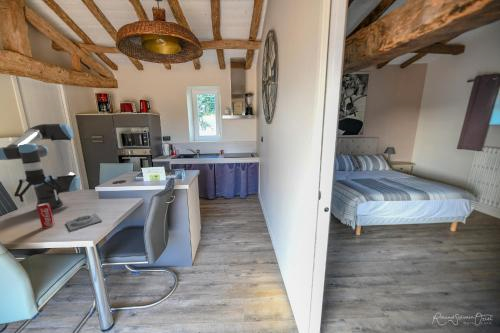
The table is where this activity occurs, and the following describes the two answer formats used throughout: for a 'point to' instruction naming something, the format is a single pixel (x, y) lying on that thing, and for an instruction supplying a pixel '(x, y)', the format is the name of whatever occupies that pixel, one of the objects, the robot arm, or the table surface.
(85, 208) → the table surface
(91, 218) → the collar
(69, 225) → the seat plate
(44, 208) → the beverage can
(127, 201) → the table surface
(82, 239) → the table surface
